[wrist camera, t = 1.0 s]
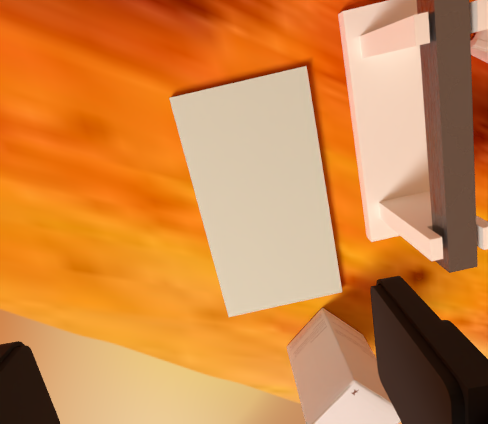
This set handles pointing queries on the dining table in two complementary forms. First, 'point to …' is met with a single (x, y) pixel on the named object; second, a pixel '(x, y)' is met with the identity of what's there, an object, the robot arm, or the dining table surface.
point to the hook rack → (394, 119)
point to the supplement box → (338, 375)
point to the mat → (261, 189)
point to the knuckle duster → (480, 45)
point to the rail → (450, 129)
